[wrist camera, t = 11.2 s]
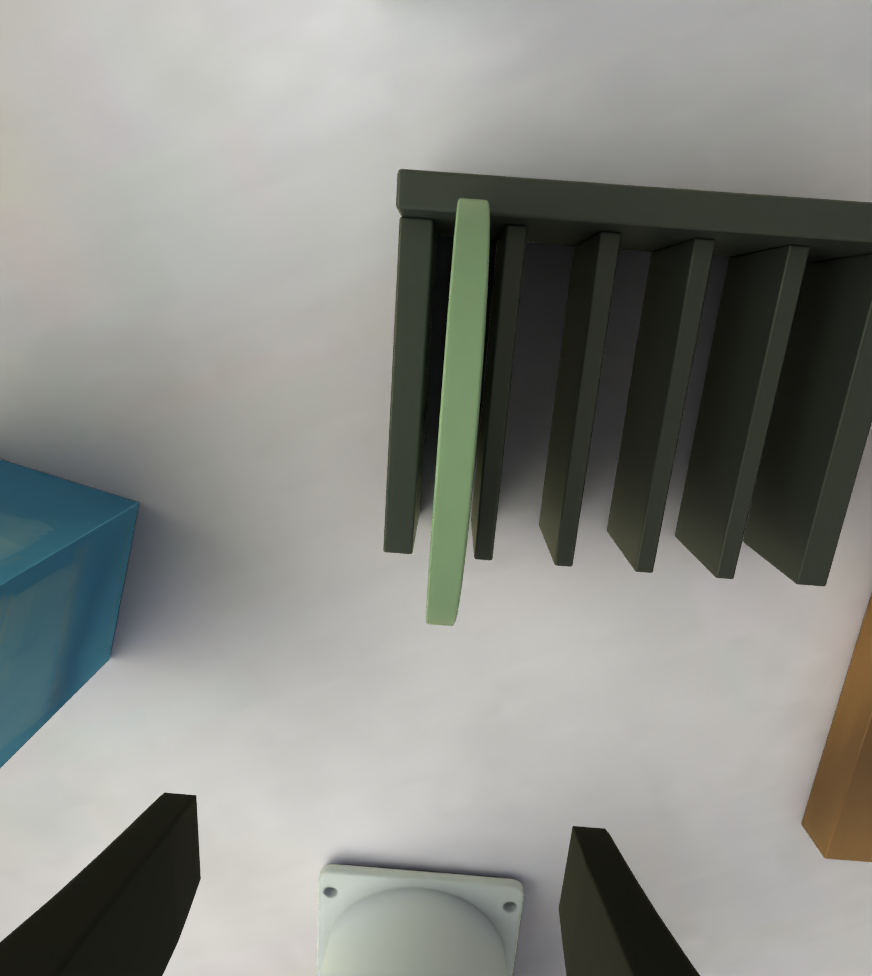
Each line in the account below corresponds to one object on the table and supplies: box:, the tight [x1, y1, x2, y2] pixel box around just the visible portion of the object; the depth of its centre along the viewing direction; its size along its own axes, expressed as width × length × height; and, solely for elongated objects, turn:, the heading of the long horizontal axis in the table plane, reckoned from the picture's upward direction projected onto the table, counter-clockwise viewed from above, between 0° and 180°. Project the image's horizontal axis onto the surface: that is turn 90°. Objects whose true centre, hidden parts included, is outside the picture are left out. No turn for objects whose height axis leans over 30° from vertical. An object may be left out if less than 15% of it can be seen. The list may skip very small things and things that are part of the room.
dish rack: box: [384, 169, 872, 626], centre depth 14 cm, size 10×12×9 cm
